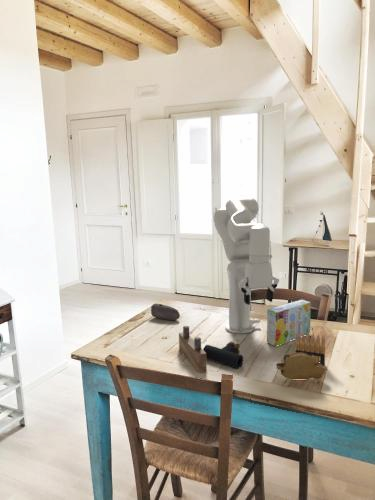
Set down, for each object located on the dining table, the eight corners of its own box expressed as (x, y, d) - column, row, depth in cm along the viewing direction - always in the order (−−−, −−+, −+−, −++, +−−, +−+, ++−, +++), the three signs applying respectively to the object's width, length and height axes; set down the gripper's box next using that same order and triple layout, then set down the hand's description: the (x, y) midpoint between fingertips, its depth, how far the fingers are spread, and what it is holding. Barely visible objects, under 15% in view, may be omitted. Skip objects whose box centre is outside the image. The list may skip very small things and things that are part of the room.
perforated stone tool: (182, 319, 196) (182, 306, 195) (177, 323, 192) (176, 309, 191) (155, 315, 203) (155, 301, 202) (150, 318, 199) (149, 305, 197)
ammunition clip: (294, 362, 151) (295, 332, 148) (294, 360, 152) (296, 330, 150) (324, 367, 147) (326, 336, 145) (324, 365, 149) (326, 334, 146)
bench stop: (186, 348, 164) (185, 322, 162) (206, 371, 145) (206, 342, 143) (179, 349, 163) (178, 323, 161) (198, 373, 144) (198, 344, 142)
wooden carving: (321, 375, 141) (322, 348, 139) (325, 382, 137) (327, 354, 135) (274, 376, 141) (275, 349, 139) (277, 383, 136) (278, 355, 135)
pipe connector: (219, 336, 163) (252, 346, 154) (219, 348, 164) (252, 359, 155) (202, 347, 154) (235, 357, 145) (202, 359, 155) (236, 371, 146)
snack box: (300, 331, 180) (301, 298, 177) (310, 335, 175) (312, 302, 173) (266, 343, 168) (266, 308, 165) (275, 347, 164) (277, 312, 161)
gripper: (273, 255, 159) (272, 297, 163) (234, 258, 154) (233, 302, 157) (284, 258, 152) (283, 302, 156) (243, 262, 147) (242, 307, 150)
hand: (258, 302), depth 156 cm, fingers open, 9 cm apart
